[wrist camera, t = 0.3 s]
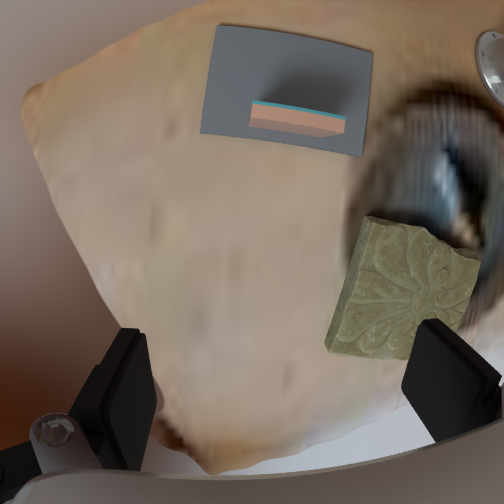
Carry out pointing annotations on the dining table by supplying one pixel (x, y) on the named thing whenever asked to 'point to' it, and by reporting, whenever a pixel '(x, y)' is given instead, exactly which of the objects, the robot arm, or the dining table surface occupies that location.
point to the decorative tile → (398, 290)
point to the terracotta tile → (295, 119)
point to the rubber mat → (286, 85)
